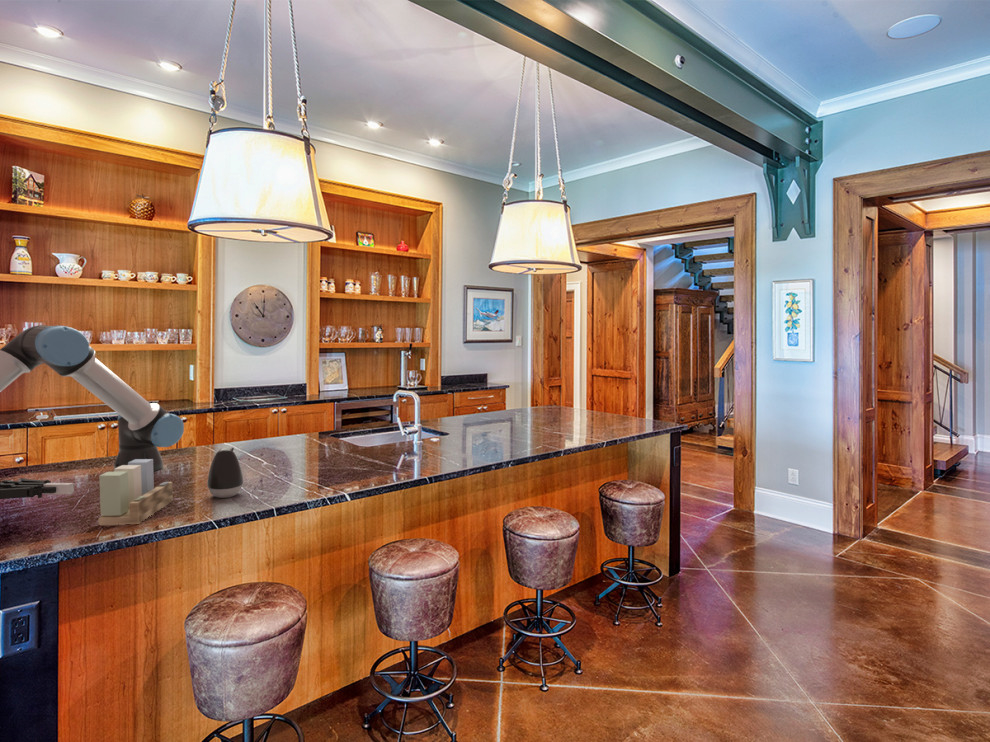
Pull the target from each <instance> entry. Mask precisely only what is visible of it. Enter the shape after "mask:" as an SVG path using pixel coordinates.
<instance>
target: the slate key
mask: <svg viewBox="0 0 990 742" xmlns="http://www.w3.org/2000/svg"><path fill="white" fill-rule="evenodd" d="M128 465H141V485H142V495H144V494H146V493H147V492H149V491H151V490H152V489H154V488H155V482H154V481H155V480H154V478H155V477H154V476H155V475H154V473H155V472H154V471H153V459H135V460H133V461H130V462H128Z"/></svg>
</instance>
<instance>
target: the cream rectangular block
mask: <svg viewBox="0 0 990 742" xmlns="http://www.w3.org/2000/svg"><path fill="white" fill-rule="evenodd" d="M113 472H128V500H129V503H131V502H132V501H134V499H136V498H138V497H139V496H142V485H141V465H122V466H119V467H117V468H115V469H114V468H113ZM129 507H130V505H129Z"/></svg>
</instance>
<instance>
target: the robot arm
mask: <svg viewBox="0 0 990 742" xmlns="http://www.w3.org/2000/svg"><path fill="white" fill-rule="evenodd" d="M43 364H45V365H47V366H48V367H49V368H50V369H52V370H53V371H54V372H56V374H58V375H60V377H71V378H72V379H73V380H75V381H76V382H77V383H78V384H80V385H81V386H82V387H84V388H85V389H86V390H88V392H90V393H91V394H93V395H94V396H95V397H96V398H97V399H99V400H100V401H101V402H103V403H104V404H105V405H106V406H107V407H109V408H110V409H112V411H114V412H116V413H117V424H118V425H117V426H118V430H117V431H118V453H117V456H116V459H115V462H114V464H113V470H114V469H115V468H117V467H119V466H122V465H128V462H130V461H133V460H135V459H153V472H156V471H159V470H160V469H161V470H162V468H163V467H164V461H163V457H162V455H161V453H160V451H159V449H158V448H169V447H172V446H174V445H176V444H177V443H178V442H179V441H180V440H181V438H182V437H183V435H184V428H185V424H184V421H183V420H182V418H181V417H180V416H178V415H177V414H174V413H169V412H168V411H167V410H165V409H164V408H163V407H162V406H161V405H160V404H158V403H157V402H156V403H155V402H152V403H151V402H149V401H147V400H146V399H145V398H144V397H143V396H142V395H140V393H138V392H137V391H136V390H135V389H133V388H132V387H131V386H130V385H129V384H127V383H126V382H125V381H124V380H123V379H121V377H119V376H118V375H117V374H116V373H114V372H113V371H112V370H111V369H110V368H109V367H107V366H106V365H105V364H104V363H102V362H101V361H100V360H99V359H98V358H96V350H95V349H94V348H93V347H92V346H91V345H90V342H89V340H88V339H87V337H86V335H85V334H84V333H83V332H82V331H79V330H78V329H76V328H73V327H70V326H66V325H43V324H42V325H34V326H31V327H28V328H26V329H25V330H23V331H21V332H20V333H18V334H17V335H16V336H14V337H13V338H12V339H11V340H10V341H9V342H7V343H6V344H5V345H4V346H3V347H2V348H0V393H2V391H4V390H5V389H6V388H7V387H8V386H10V385H11V384H12V383H13V382H14V381H16V380H17V379H18V378H19V377H20V376H21V375H23V374H28V373H30V372H32V371H33V370H34V369H36V368H37V367H39V366H40V365H43ZM74 492H75V491H74V482H52V481H51V480H49V479H46V480H44V479H32V478H31V479H28V478H25V477H24V478H23V477H21V478H20V477H19V478H18V480H11V479H3V480H0V500H11V499H24V498H26V499H27V498H34V497H35V496H37V499H40V498H43V495H54V496H55V495H71V494H74Z"/></svg>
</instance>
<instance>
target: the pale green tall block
mask: <svg viewBox="0 0 990 742" xmlns="http://www.w3.org/2000/svg"><path fill="white" fill-rule="evenodd" d="M98 478H99V504H100V506H99V507H100V509H99V510H100V517H101V516H121V515H122V514H124V513H126V512H127V511H129V500H128V472H114V471H106V472H104V473H102V474H100V475H99V477H98Z"/></svg>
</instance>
